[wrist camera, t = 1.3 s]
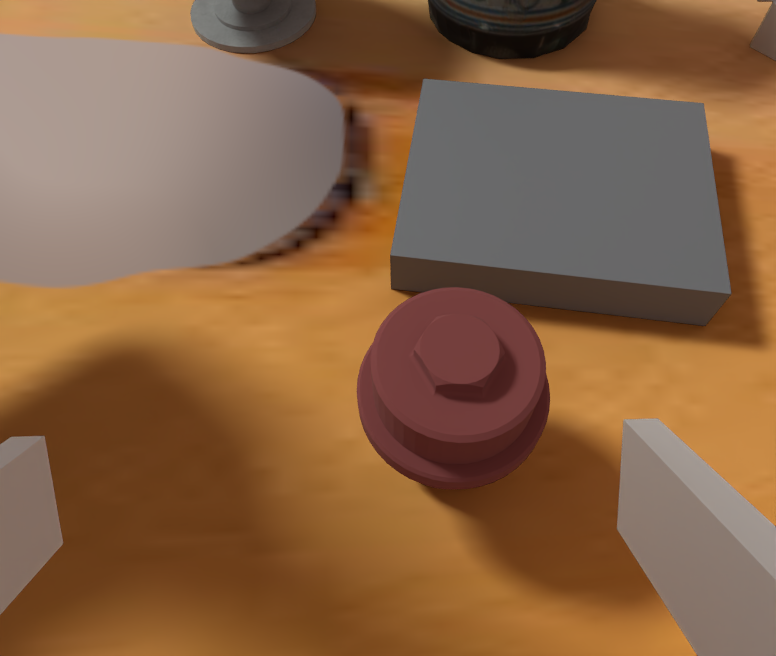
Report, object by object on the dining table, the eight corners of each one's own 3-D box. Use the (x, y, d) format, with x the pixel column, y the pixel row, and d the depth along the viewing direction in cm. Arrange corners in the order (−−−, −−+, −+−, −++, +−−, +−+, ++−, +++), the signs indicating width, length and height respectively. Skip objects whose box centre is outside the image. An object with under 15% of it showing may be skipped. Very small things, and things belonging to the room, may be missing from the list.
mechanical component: (358, 518, 37) (369, 367, 42) (528, 526, 37) (519, 373, 42) (342, 446, 27) (359, 257, 32) (580, 457, 26) (559, 263, 31)
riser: (391, 288, 46) (390, 255, 42) (421, 117, 55) (423, 78, 51) (705, 325, 44) (731, 293, 40) (683, 142, 53) (703, 103, 49)
